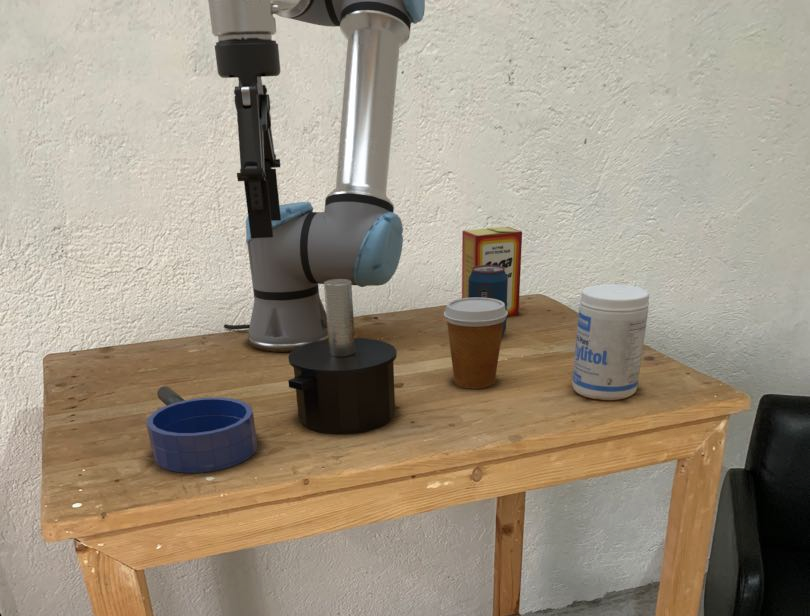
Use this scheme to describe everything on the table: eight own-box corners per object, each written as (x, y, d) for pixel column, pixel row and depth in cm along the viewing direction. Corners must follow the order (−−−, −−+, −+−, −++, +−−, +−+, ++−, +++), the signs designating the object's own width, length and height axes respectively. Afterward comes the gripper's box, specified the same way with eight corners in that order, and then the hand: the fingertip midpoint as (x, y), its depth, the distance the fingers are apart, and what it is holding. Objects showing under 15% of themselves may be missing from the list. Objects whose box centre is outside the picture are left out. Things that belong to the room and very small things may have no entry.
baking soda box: (474, 320, 155) (475, 233, 147) (461, 312, 160) (462, 228, 152) (518, 315, 158) (522, 229, 150) (504, 307, 163) (507, 224, 155)
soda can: (496, 329, 149) (498, 262, 143) (512, 338, 144) (514, 269, 138) (462, 333, 148) (462, 266, 142) (476, 343, 142) (477, 273, 136)
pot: (265, 426, 111) (257, 367, 106) (354, 387, 123) (350, 333, 119) (338, 449, 103) (333, 386, 99) (424, 405, 116) (423, 347, 112)
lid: (266, 366, 108) (256, 286, 103) (338, 340, 118) (333, 265, 113) (348, 386, 100) (342, 300, 95) (418, 356, 110) (416, 277, 105)
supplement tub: (559, 393, 119) (566, 293, 111) (591, 376, 125) (599, 280, 117) (619, 407, 113) (631, 302, 106) (649, 388, 119) (662, 288, 112)
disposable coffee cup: (502, 393, 119) (504, 313, 113) (439, 391, 121) (438, 311, 115) (507, 373, 127) (510, 297, 121) (449, 371, 129) (448, 296, 123)
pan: (141, 446, 106) (133, 411, 103) (234, 424, 112) (229, 390, 109) (173, 482, 96) (165, 444, 93) (273, 455, 102) (268, 419, 99)
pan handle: (156, 400, 114) (153, 386, 113) (171, 397, 115) (169, 382, 114) (180, 422, 106) (177, 406, 105) (195, 418, 107) (193, 403, 106)
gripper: (268, 33, 84) (289, 244, 95) (284, 41, 105) (300, 213, 116) (196, 35, 84) (225, 247, 94) (227, 43, 105) (248, 215, 116)
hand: (266, 228), depth 105 cm, fingers open, 13 cm apart
